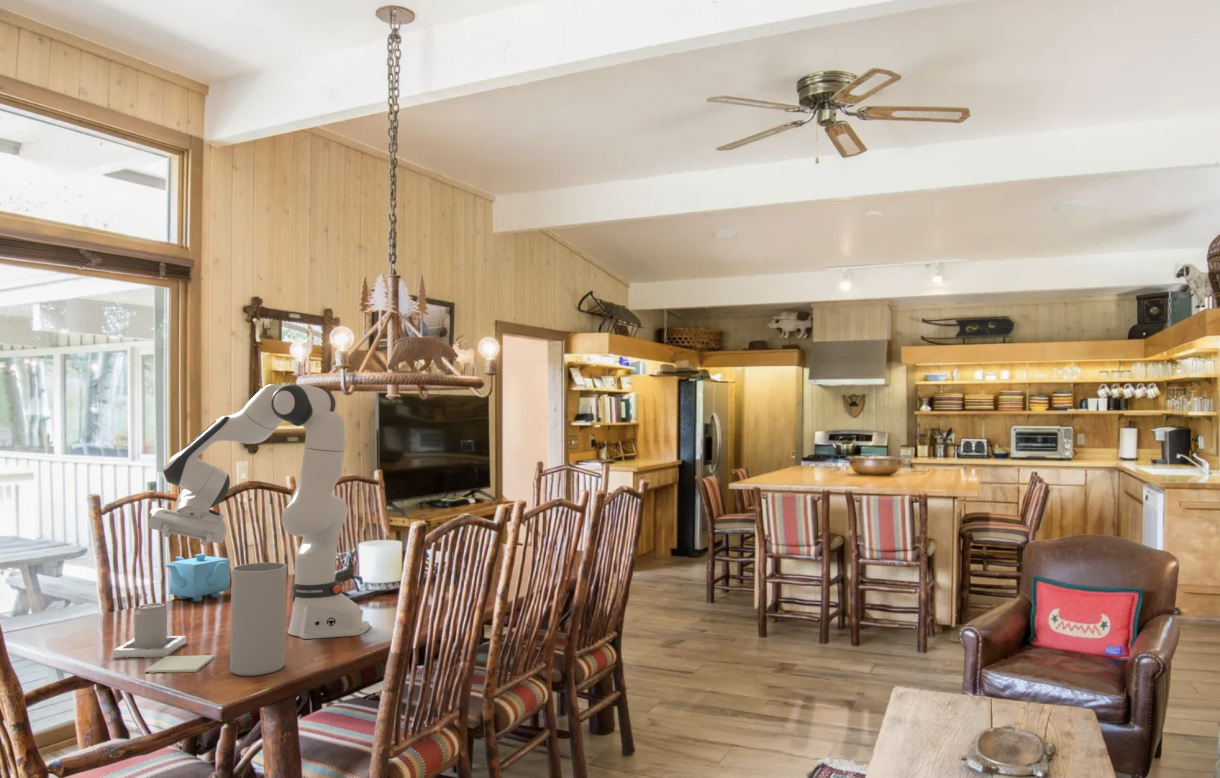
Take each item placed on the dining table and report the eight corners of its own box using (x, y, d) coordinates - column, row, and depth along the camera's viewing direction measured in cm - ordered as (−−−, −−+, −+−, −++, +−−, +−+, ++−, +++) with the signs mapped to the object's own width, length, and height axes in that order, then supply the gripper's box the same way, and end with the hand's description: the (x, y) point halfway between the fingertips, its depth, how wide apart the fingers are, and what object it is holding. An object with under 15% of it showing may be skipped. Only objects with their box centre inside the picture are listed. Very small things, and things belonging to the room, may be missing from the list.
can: (152, 655, 216) (153, 608, 217) (127, 653, 218) (128, 607, 218) (172, 647, 224) (173, 602, 224) (148, 645, 225) (149, 601, 225)
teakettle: (231, 590, 296) (232, 548, 297) (226, 601, 279) (227, 557, 279) (172, 593, 290) (173, 551, 291) (162, 605, 272) (163, 560, 273)
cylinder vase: (281, 659, 214) (283, 561, 215) (287, 672, 203) (289, 569, 204) (228, 665, 208) (230, 564, 209) (231, 679, 197) (233, 573, 198)
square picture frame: (185, 643, 228) (186, 635, 228) (165, 656, 215) (166, 649, 215) (135, 644, 226) (135, 636, 226) (112, 658, 213) (112, 650, 214)
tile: (214, 657, 215) (214, 655, 215) (196, 671, 203) (196, 669, 203) (165, 658, 213) (165, 656, 213) (144, 673, 202) (144, 670, 202)
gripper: (155, 498, 239) (149, 519, 227) (229, 516, 248) (227, 537, 236) (147, 517, 240) (141, 539, 227) (221, 534, 249) (219, 556, 237)
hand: (185, 538), depth 232 cm, fingers open, 8 cm apart
